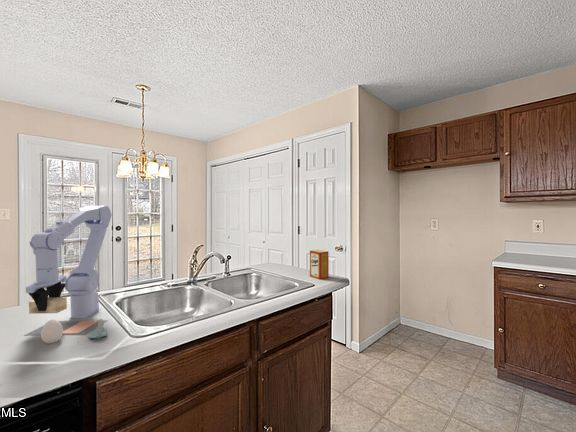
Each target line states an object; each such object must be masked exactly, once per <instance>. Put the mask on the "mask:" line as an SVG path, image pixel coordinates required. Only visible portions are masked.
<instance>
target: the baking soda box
mask: <svg viewBox="0 0 576 432" xmlns="http://www.w3.org/2000/svg"><path fill="white" fill-rule="evenodd" d="M329 254H330V253H329V251H327V250H321V249H313V250H309V277H311V278H313V279H317V280H326V279H329V274H330V273H329V268H330V267H329V262H330V261H329V256H330V255H329Z"/></svg>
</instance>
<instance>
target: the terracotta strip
mask: <svg viewBox="0 0 576 432" xmlns="http://www.w3.org/2000/svg"><path fill="white" fill-rule="evenodd" d="M80 321H81V322H79V323H77V324H76V325H74V326H72V327H70V328H68V329H67V330H65V331H63V334H79V333H80V332H82V331H84V330H85V329H87V328H88V327H90V326H92V325H93V324H95V323H97V322H98V321H99V320H80Z"/></svg>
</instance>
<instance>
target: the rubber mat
mask: <svg viewBox="0 0 576 432" xmlns="http://www.w3.org/2000/svg"><path fill="white" fill-rule="evenodd" d="M103 320H104V324H105V323H107V322H108V320H107V319H106V320H105V319H103ZM58 321H59V322H60V323H61V325H62V328H63V331H65V330H67V329H68V328H70V327H72V326H74V325H76V324H77V323H79V322H81V321H82V320H58ZM97 321H98V322H97V323H95V324H93V325H92V326H90V327H88V328H87V329H85V330H84V331H82V332H80V333H79V334H62V336H88V334H90V333H91V332H92V331H93V330H94V329H96V328H98V323H99V320H97ZM43 326H44V325H42V326H40V327H38V328H35V329H33V330H32V331H30V332H28V333H26V334H24V335H23V336H24V337H29V336H30V337H31V336H32V337H33V336H35V337H36V336H37V337H38V336H40V337H41V331H42V328H43Z"/></svg>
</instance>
